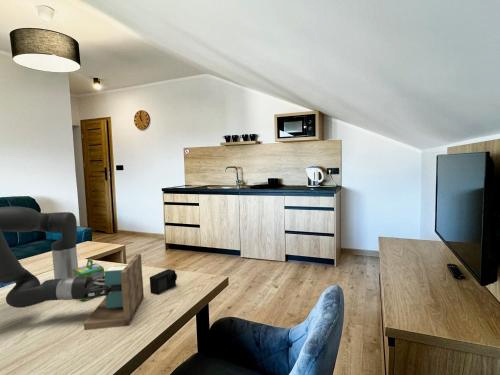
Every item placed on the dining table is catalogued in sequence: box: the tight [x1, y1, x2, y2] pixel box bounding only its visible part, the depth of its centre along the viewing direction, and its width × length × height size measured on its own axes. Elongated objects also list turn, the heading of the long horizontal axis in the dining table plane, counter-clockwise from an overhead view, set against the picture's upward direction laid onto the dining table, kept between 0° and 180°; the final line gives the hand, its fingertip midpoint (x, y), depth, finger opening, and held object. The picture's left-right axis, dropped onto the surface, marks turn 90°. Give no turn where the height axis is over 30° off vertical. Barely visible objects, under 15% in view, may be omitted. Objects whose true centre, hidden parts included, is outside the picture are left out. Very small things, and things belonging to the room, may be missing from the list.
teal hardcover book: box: [104, 265, 126, 308], centre depth 102 cm, size 4×7×13 cm, turn 97°
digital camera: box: [149, 268, 178, 296], centre depth 121 cm, size 10×5×7 cm, turn 149°
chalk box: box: [73, 258, 105, 303], centre depth 118 cm, size 9×9×15 cm
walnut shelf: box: [83, 253, 145, 330], centre depth 103 cm, size 20×14×18 cm
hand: (126, 284), depth 102 cm, fingers closed on teal hardcover book, 4 cm apart
